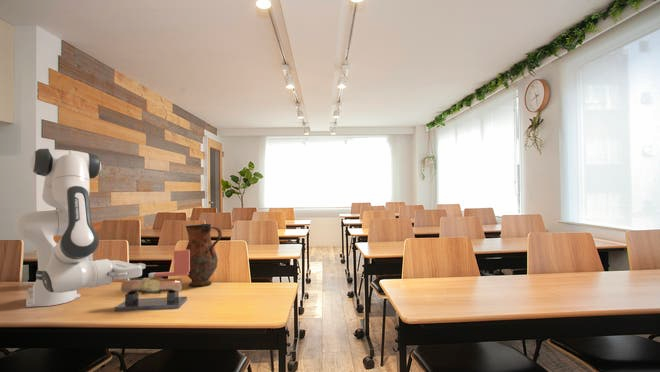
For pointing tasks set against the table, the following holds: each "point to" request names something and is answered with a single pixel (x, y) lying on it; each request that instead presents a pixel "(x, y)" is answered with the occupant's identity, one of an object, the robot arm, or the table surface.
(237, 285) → the table surface
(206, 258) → the pitcher
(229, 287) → the table surface
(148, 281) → the valve
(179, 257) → the valve lever
